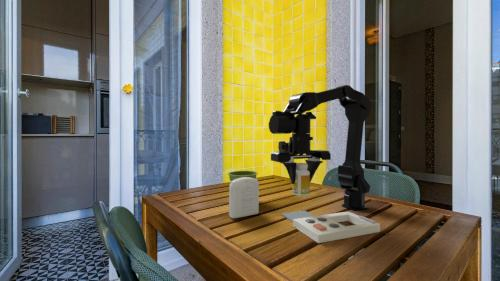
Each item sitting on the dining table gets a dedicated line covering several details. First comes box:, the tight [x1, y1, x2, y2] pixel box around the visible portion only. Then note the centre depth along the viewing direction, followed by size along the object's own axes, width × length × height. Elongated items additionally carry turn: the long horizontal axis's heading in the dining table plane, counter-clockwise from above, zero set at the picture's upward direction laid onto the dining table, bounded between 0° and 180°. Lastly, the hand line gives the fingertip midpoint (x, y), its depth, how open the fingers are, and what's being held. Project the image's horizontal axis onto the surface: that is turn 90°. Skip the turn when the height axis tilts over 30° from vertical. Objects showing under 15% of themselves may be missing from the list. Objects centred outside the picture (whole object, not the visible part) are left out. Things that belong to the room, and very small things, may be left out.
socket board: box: [292, 211, 381, 244], centre depth 70 cm, size 20×12×3 cm, turn 110°
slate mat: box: [280, 210, 315, 223], centre depth 79 cm, size 9×9×1 cm
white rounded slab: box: [228, 177, 260, 219], centre depth 81 cm, size 10×4×12 cm, turn 123°
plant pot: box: [227, 170, 258, 182], centre depth 98 cm, size 12×12×11 cm
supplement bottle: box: [292, 162, 311, 197], centre depth 79 cm, size 5×5×10 cm
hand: (301, 183), depth 79 cm, fingers closed on supplement bottle, 5 cm apart
